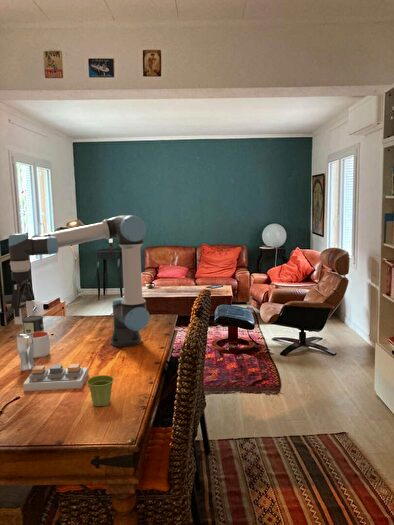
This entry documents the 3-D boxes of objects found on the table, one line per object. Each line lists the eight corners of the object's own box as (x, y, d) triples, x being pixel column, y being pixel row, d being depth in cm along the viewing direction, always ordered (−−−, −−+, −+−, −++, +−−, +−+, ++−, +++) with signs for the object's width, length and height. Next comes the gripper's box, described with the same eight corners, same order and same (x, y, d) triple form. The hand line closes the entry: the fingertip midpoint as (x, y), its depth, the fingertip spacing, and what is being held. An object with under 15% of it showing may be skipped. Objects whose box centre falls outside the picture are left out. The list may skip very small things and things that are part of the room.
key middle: (62, 368, 181) (62, 364, 181) (60, 372, 177) (59, 368, 177) (52, 368, 181) (52, 364, 181) (50, 372, 177) (49, 368, 177)
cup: (43, 359, 207) (41, 338, 205) (23, 358, 209) (21, 337, 207) (54, 351, 216) (52, 332, 215) (35, 351, 218) (33, 331, 217)
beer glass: (20, 372, 191) (17, 339, 189) (18, 367, 197) (15, 334, 195) (37, 369, 194) (34, 336, 192) (35, 364, 200) (32, 332, 198)
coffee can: (44, 340, 234) (42, 314, 232) (45, 346, 225) (43, 319, 223) (24, 343, 231) (21, 316, 229) (23, 349, 221) (21, 321, 219)
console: (88, 374, 187) (87, 363, 187) (81, 388, 173) (80, 377, 173) (34, 376, 186) (34, 366, 185) (23, 391, 172) (22, 380, 172)
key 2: (80, 367, 181) (79, 363, 181) (78, 371, 178) (77, 367, 177) (70, 367, 181) (69, 364, 181) (67, 371, 177) (67, 367, 177)
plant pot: (103, 395, 167) (102, 372, 165) (120, 401, 161) (119, 378, 159) (82, 404, 159) (81, 381, 158) (99, 411, 154) (98, 387, 152)
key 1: (45, 369, 181) (44, 365, 181) (42, 372, 177) (42, 369, 177) (35, 369, 181) (34, 365, 180) (32, 373, 177) (31, 369, 176)
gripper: (22, 266, 199) (26, 312, 202) (-1, 275, 174) (3, 328, 177) (39, 265, 199) (43, 312, 202) (18, 275, 175) (22, 327, 178)
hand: (24, 319), depth 190 cm, fingers open, 13 cm apart
